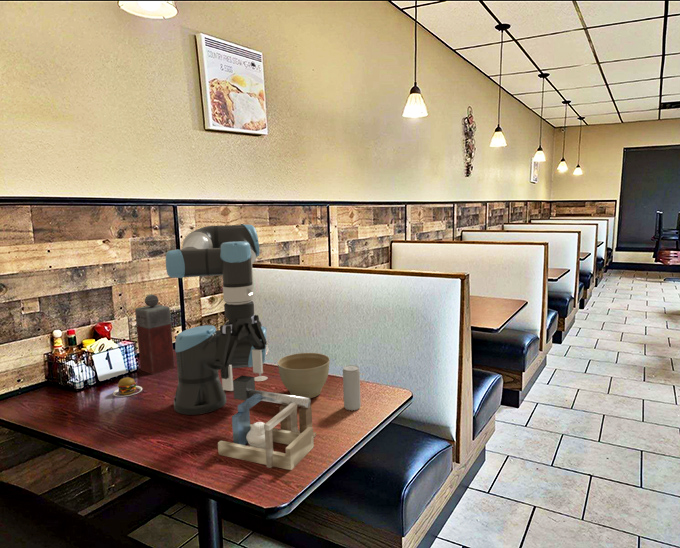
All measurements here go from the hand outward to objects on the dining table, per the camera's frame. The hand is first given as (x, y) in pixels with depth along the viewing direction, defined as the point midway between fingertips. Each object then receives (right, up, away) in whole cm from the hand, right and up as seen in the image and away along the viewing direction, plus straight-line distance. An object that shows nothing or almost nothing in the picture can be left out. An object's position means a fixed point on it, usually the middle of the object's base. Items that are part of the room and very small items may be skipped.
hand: (243, 381), depth 127 cm
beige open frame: (+8, -14, -11) cm, 20 cm away
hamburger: (-44, -11, +30) cm, 55 cm away
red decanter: (-44, -7, +54) cm, 69 cm away
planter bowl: (+14, -10, +24) cm, 30 cm away
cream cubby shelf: (+14, -13, -4) cm, 20 cm away
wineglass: (-2, -8, +39) cm, 40 cm away
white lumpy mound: (+6, -15, -10) cm, 19 cm away
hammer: (+6, -13, -6) cm, 16 cm away
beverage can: (+29, -11, +12) cm, 33 cm away
